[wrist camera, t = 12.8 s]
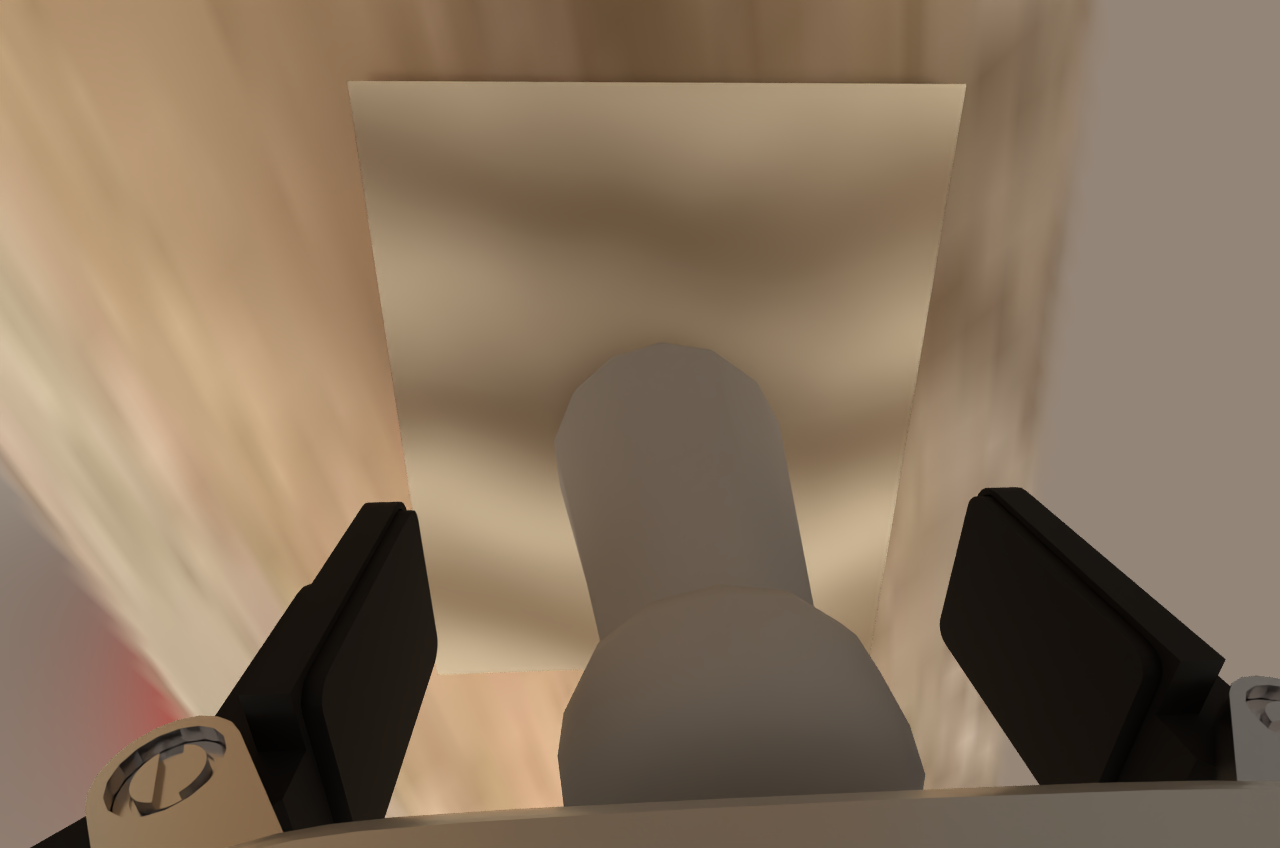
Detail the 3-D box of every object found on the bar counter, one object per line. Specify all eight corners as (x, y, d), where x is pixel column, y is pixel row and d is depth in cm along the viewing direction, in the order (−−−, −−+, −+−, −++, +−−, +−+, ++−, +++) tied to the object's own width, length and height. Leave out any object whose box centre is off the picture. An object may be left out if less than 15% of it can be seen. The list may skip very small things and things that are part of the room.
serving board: (368, 88, 17) (346, 81, 15) (937, 90, 17) (966, 83, 16) (447, 644, 23) (437, 674, 22) (853, 631, 24) (868, 659, 23)
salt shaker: (789, 453, 19) (1088, 921, 7) (624, 538, 20) (653, 1082, 8) (702, 283, 17) (917, 548, 5) (522, 385, 18) (361, 812, 6)
